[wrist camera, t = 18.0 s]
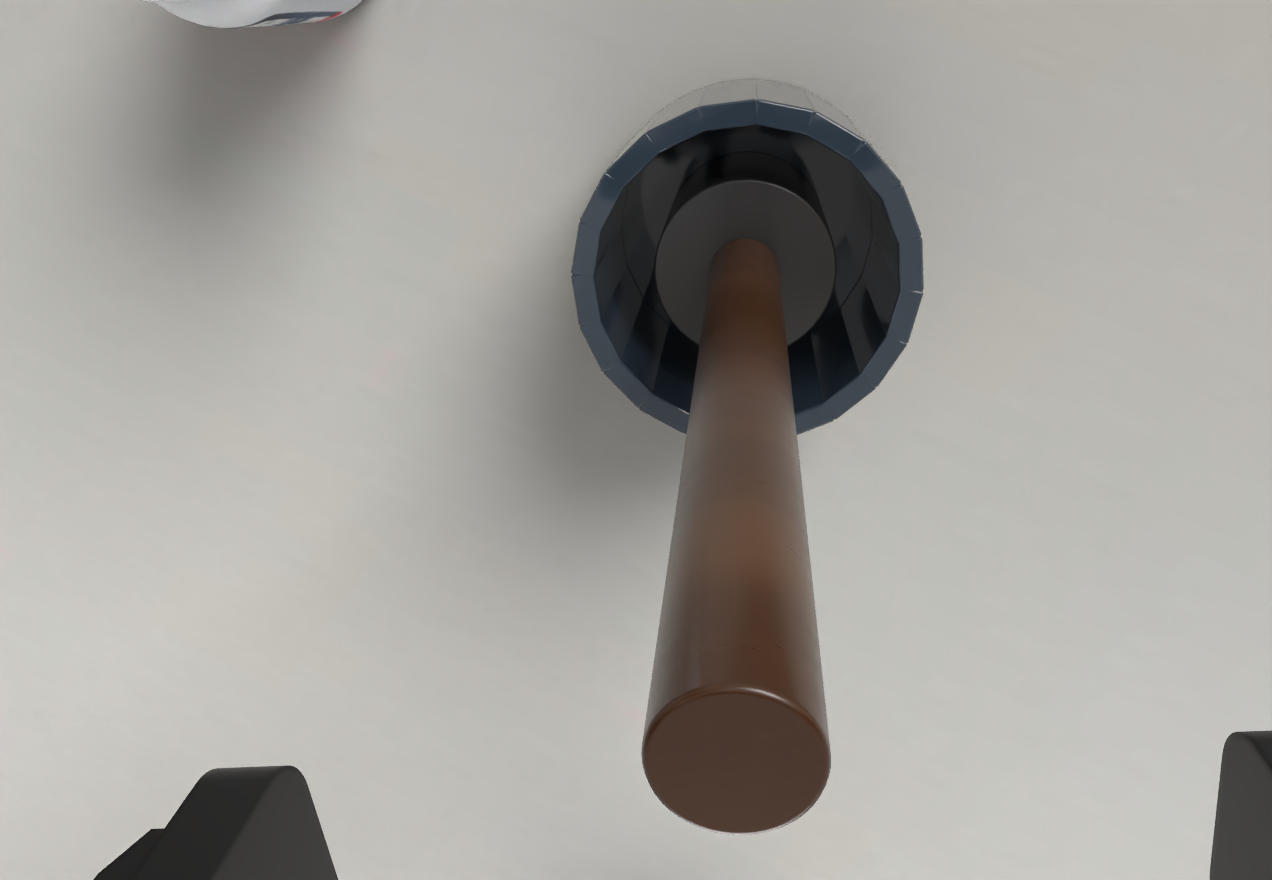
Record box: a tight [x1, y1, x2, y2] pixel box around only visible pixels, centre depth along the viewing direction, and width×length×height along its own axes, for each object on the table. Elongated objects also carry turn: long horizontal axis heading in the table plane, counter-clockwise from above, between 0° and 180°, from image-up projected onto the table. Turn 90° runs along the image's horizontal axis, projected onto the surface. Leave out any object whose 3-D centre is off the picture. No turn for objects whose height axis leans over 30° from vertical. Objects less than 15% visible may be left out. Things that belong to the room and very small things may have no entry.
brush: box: [642, 152, 837, 835], centre depth 21 cm, size 5×5×24 cm
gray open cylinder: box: [571, 79, 924, 435], centre depth 29 cm, size 9×9×7 cm
